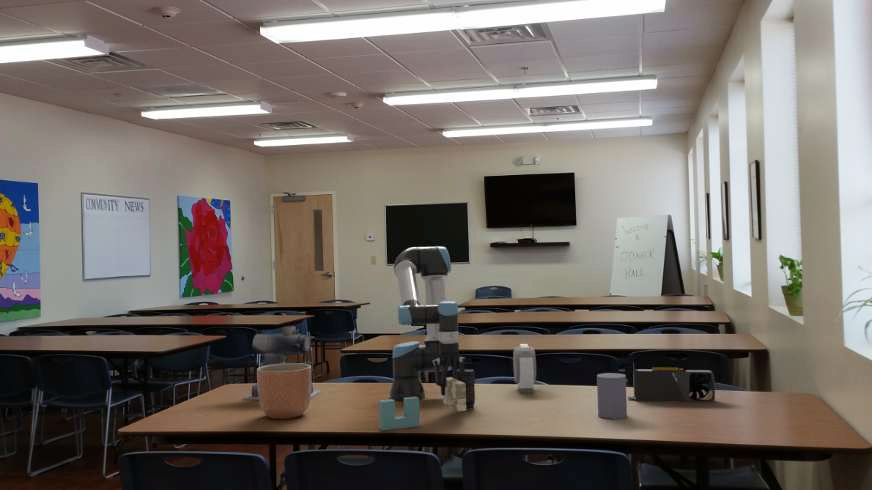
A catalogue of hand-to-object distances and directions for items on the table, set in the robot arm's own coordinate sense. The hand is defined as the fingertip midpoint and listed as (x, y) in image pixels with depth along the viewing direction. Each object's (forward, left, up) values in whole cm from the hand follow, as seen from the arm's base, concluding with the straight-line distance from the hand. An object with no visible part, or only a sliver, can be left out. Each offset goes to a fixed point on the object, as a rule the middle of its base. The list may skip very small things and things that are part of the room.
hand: (450, 402), depth 286 cm
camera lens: (-7, +9, -4) cm, 13 cm away
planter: (-28, -58, -4) cm, 65 cm away
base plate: (+11, -24, -4) cm, 27 cm away
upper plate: (+4, 0, -1) cm, 5 cm away
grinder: (-70, -52, -5) cm, 88 cm away
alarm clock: (-28, +47, -4) cm, 55 cm away
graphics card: (+20, +87, -5) cm, 89 cm away
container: (+32, +51, -5) cm, 61 cm away
